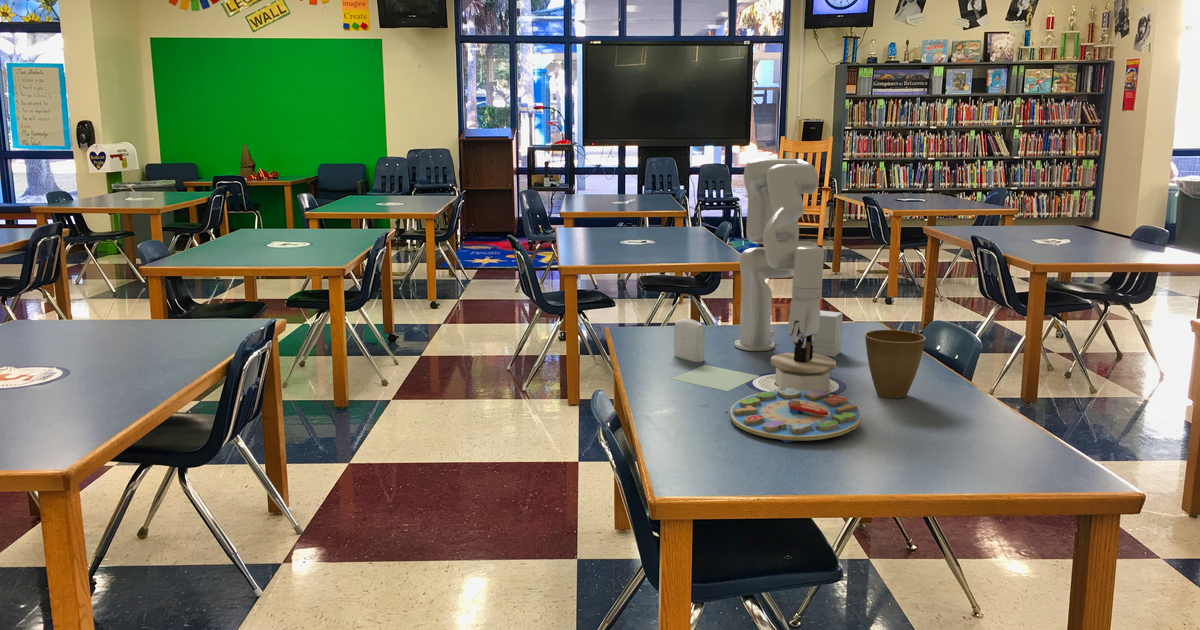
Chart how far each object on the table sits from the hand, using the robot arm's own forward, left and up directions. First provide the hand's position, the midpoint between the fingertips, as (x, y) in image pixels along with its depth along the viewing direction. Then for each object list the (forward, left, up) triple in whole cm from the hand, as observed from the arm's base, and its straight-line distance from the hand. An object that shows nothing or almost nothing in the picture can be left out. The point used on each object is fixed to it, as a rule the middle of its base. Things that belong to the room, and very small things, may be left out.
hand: (803, 359), depth 236 cm
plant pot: (-9, +21, -8) cm, 24 cm away
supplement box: (-38, -10, -8) cm, 40 cm away
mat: (+8, -22, -8) cm, 25 cm away
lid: (0, 0, -1) cm, 1 cm away
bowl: (0, 0, -8) cm, 8 cm away
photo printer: (-5, -39, -8) cm, 40 cm away
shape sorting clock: (+27, +11, -8) cm, 30 cm away
